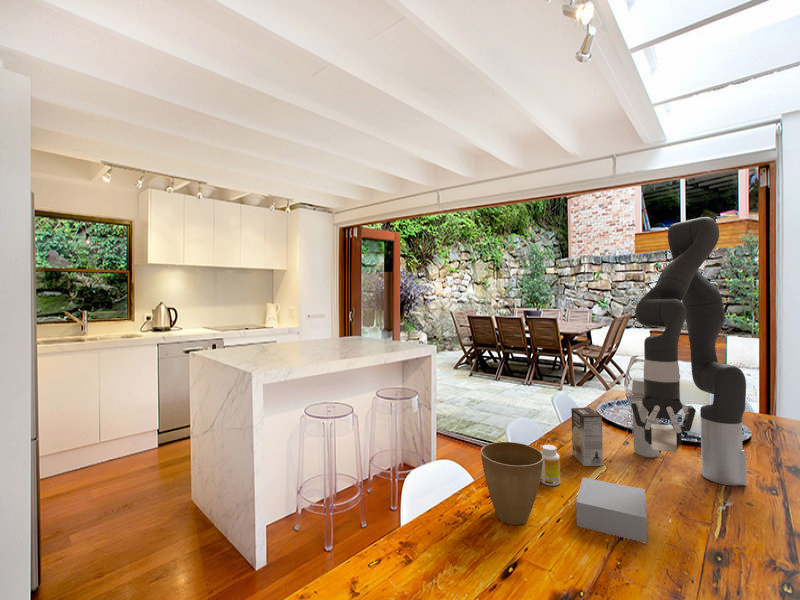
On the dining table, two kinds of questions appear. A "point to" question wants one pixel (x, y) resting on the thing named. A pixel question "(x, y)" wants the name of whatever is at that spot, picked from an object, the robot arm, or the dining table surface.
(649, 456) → the water bottle
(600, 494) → the slate block
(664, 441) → the cream cube
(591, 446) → the coffee box
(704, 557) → the dining table surface
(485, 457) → the plant pot
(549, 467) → the supplement bottle
